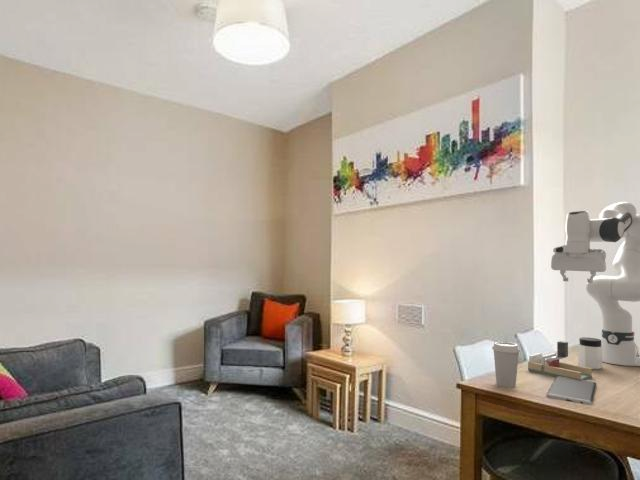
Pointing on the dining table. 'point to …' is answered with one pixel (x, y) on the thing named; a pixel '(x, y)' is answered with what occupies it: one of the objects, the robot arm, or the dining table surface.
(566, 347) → the kicker rod
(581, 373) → the pitch
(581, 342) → the jar
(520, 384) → the dining table surface
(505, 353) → the coffee cup
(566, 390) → the smartphone
